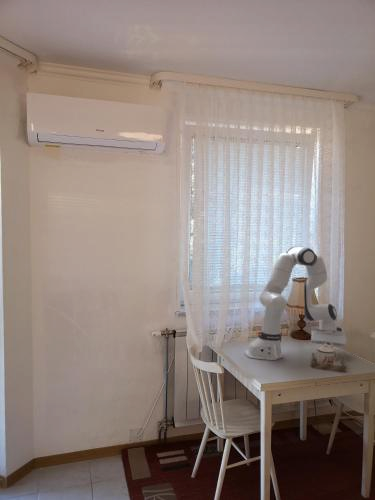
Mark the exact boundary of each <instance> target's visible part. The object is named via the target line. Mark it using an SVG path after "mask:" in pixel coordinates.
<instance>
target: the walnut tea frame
mask: <svg viewBox="0 0 375 500" xmlns="http://www.w3.org/2000/svg"><path fill="white" fill-rule="evenodd" d="M311 353H312V354H311V361H310V362H311V363H310V364H311V365H310V367H311V368H313V369H320V370H327V371H332V372H333V371H334V372H340V373H346V362H345V358H344V356H341V361H340V363H341V365H340V364H334V363H333V364H326V363H318V362H317V361H315V353H314V352H311Z"/></svg>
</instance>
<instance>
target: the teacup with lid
mask: <svg viewBox="0 0 375 500" xmlns="http://www.w3.org/2000/svg"><path fill="white" fill-rule="evenodd" d="M316 350H317V359H316V362H318V363H326V364H333V365H334V361H335V360H337V359H338V353H337V352H335V350H334V349H333V347H332V348H330V346H329V345H326V344H325V345H324V344H323V345H322V346H319V347H317V349H316Z"/></svg>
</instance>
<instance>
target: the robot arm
mask: <svg viewBox="0 0 375 500" xmlns="http://www.w3.org/2000/svg"><path fill="white" fill-rule="evenodd" d="M296 265H300V266H305V268H306V270H307V280H305V281H304V285H303V291H304V293H303V296H304V299H303V302H304V307H303V308H304V311H303V315H304V318H305V319H306V320H308V321H309V322H315V321H321V329H317V328H313V329H311V330H310V334H311V339H310V341H311V343H312V344H319V345H323V346H324V345H325V344H326V345H328V346H329V347H330V348H332V349H333V347H334V346H336V347H344V348H345V347H346V346H347V343H348V342H347V337H346V334H345V329H344V328H341V327H339V326H337V320H338V319H337V317H338V316H337V315H338V313H337V310H336V307H335V306H333V305H332V304H331V303H322V304H313V303H312V301H313V300H312V299H313V298H312V293H313V291H314V290H316V289H317V288H320V287H321V286H323V285H324V284H325V283H326V282H327V280H328V271H327V267H326V265H325V261H324V259H323V257H322V255H320V254H317V253H315V251H314V250H313V249H311V248H309V247H304V246H295V245H294V246H292V247H290V248H288V250H287V251H286V252H281V253H280V254H279V256H277V259H276V261H275V263H274V266H273V269H272V272H271V274H270V278H269V280H268V282H267V284H266V286H265V287H264V289H263V291H262V292H261V293H260V294H259V301H260V304H261V305H262V306H263V307H264V308H265V313H264V315H263V317H262V320H261V322H262V326H261V331H260V330H257V331H256V334H257V335H258V337H257V338H255V339H254V340H253V341H251V342H250V343H249V347H248V349H246V350H244V355H245V356H246V357H247V358H249V359H257V360H268V361H277V360H278V359H281V358H283V353H282V345H281V343H282V332H281V329H282V318H283V316H284V311H285V309H286V308H287V306H288V305H287V304H288V302H287V300H286V298H285V297H284V296H283V295H282V294H283V292H284V290H285V289H286V288H287V286H288V285H289V282H290V278H291V276H292V272H293V269H294V267H295V266H296Z"/></svg>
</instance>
